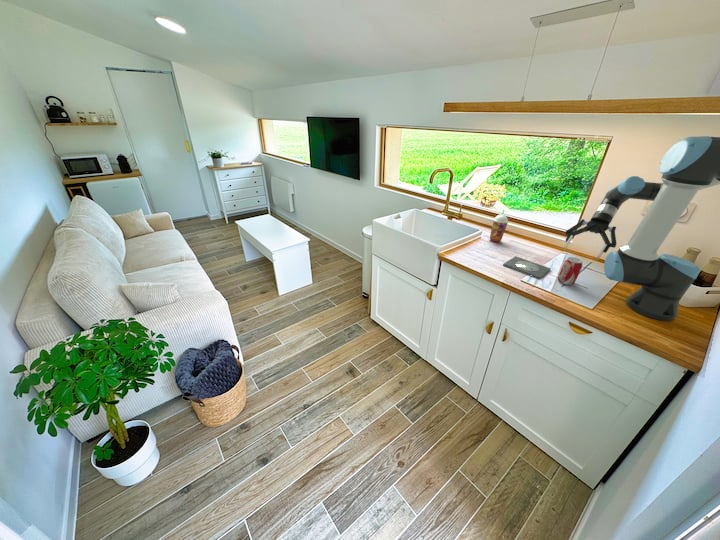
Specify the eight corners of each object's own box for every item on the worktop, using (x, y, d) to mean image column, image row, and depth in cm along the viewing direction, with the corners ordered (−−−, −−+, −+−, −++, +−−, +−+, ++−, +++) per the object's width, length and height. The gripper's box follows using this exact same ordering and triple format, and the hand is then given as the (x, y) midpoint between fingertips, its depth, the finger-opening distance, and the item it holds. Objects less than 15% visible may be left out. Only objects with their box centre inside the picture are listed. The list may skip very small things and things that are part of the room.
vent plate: (550, 270, 144) (551, 268, 144) (539, 279, 136) (540, 277, 135) (515, 257, 156) (515, 256, 156) (502, 265, 147) (503, 263, 147)
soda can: (573, 287, 130) (584, 265, 124) (555, 282, 133) (565, 260, 127) (574, 281, 135) (584, 259, 129) (557, 277, 138) (566, 255, 132)
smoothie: (492, 237, 182) (500, 207, 173) (504, 241, 177) (513, 210, 167) (485, 240, 178) (493, 209, 168) (497, 244, 172) (507, 213, 163)
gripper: (635, 227, 129) (612, 265, 128) (573, 213, 146) (552, 247, 144) (638, 218, 124) (615, 257, 122) (574, 205, 140) (552, 240, 139)
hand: (581, 252), depth 133 cm, fingers open, 13 cm apart
